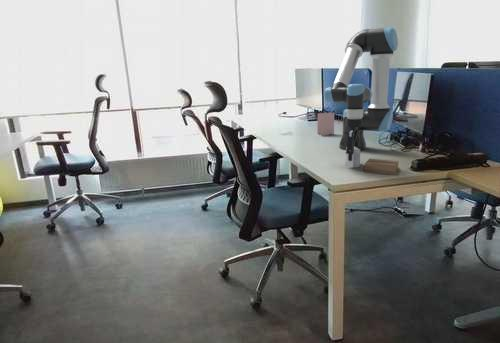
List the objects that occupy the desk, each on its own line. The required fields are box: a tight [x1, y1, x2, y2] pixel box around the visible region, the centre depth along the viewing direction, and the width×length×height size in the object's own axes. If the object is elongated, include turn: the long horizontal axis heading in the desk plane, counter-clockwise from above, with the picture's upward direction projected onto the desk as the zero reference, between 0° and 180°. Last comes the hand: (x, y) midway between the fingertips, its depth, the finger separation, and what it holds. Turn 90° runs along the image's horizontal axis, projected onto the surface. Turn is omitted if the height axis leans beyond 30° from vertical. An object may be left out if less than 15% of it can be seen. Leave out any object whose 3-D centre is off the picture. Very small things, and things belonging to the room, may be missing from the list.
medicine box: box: [345, 147, 361, 169], centre depth 179 cm, size 8×4×9 cm, turn 5°
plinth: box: [362, 158, 400, 176], centre depth 170 cm, size 10×14×4 cm
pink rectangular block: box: [316, 112, 335, 137], centre depth 259 cm, size 11×7×15 cm, turn 84°
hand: (352, 164), depth 180 cm, fingers closed on medicine box, 9 cm apart
